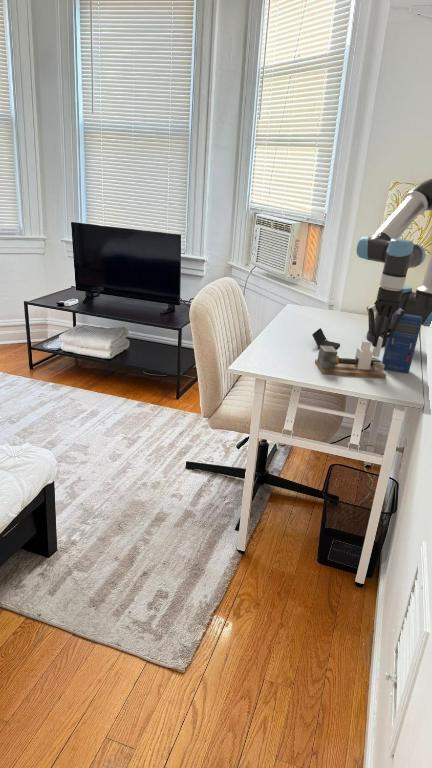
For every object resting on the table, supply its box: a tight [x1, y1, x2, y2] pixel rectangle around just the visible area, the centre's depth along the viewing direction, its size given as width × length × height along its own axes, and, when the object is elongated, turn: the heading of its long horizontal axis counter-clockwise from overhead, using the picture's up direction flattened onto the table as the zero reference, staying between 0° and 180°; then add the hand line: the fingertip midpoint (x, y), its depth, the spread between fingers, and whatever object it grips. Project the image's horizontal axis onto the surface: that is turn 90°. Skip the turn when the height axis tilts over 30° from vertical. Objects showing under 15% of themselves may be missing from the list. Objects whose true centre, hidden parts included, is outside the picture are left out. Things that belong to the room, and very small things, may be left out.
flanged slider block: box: [354, 340, 373, 370], centre depth 181 cm, size 4×5×9 cm
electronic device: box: [381, 312, 423, 374], centre depth 184 cm, size 10×5×20 cm, turn 75°
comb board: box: [314, 346, 387, 379], centre depth 181 cm, size 22×11×7 cm, turn 94°
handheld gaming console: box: [311, 327, 341, 351], centre depth 205 cm, size 12×7×10 cm
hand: (375, 355), depth 181 cm, fingers closed
